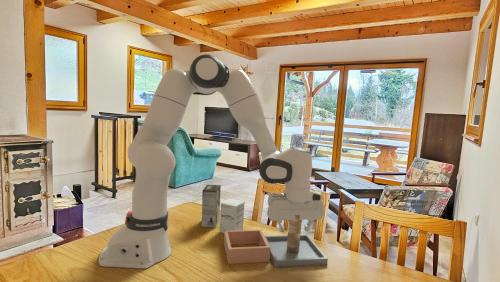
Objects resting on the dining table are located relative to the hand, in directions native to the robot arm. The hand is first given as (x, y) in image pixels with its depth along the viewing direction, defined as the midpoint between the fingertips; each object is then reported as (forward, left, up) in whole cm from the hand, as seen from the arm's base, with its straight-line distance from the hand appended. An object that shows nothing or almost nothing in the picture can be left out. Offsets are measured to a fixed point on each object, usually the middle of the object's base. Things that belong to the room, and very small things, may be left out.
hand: (294, 230), depth 103 cm
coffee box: (-28, +28, -8) cm, 40 cm away
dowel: (0, 0, -7) cm, 7 cm away
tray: (0, 0, -8) cm, 8 cm away
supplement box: (-20, +19, -8) cm, 29 cm away
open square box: (-17, +2, -8) cm, 19 cm away
